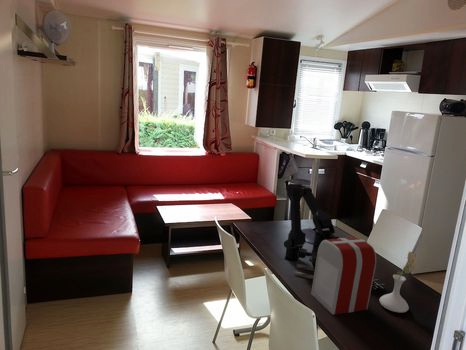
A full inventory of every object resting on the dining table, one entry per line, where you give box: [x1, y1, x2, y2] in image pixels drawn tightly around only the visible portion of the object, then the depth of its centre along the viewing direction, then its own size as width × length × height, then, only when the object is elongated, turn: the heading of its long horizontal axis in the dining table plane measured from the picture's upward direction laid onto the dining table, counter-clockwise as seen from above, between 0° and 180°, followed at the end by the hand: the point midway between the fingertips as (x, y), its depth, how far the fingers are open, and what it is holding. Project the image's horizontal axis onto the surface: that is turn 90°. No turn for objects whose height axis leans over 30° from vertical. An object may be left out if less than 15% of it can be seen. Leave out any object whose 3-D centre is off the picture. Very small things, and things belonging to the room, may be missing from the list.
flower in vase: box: [379, 250, 419, 314], centre depth 152 cm, size 13×11×25 cm
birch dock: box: [293, 263, 314, 280], centre depth 175 cm, size 23×12×5 cm, turn 72°
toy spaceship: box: [301, 226, 315, 246], centre depth 225 cm, size 28×24×3 cm
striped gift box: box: [310, 237, 377, 315], centre depth 153 cm, size 17×18×27 cm
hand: (315, 273), depth 176 cm, fingers closed
